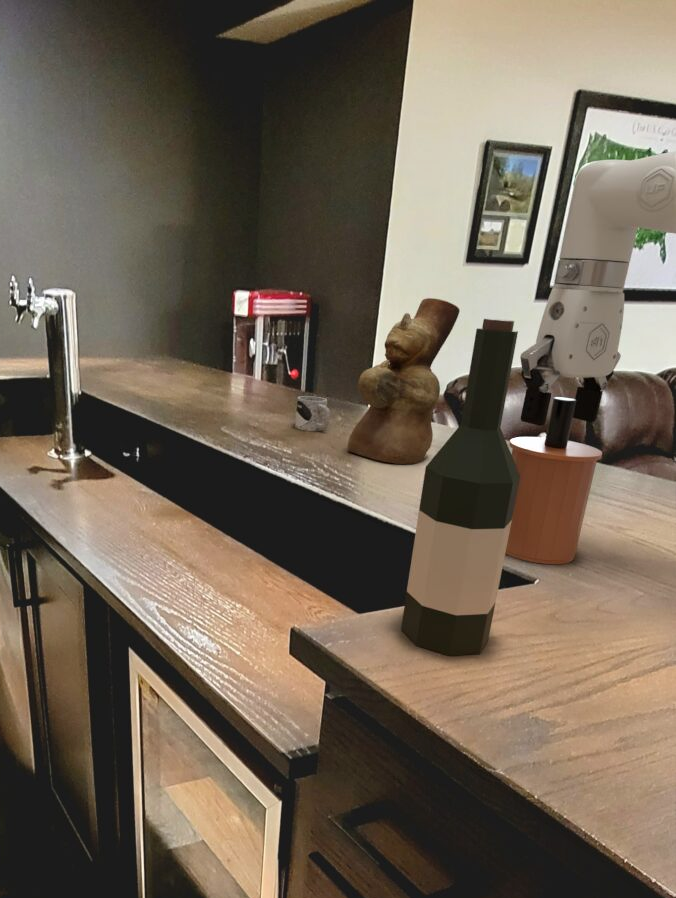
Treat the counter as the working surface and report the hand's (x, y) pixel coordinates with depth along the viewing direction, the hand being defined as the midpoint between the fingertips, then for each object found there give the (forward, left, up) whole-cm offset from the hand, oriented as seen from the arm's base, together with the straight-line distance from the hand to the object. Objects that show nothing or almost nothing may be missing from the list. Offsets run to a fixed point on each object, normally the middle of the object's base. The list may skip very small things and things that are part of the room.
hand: (558, 421), depth 90 cm
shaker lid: (0, 0, -4) cm, 4 cm away
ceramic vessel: (+7, -52, -17) cm, 55 cm away
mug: (+22, -71, -17) cm, 76 cm away
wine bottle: (+19, +26, -17) cm, 37 cm away
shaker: (0, 0, -17) cm, 17 cm away
